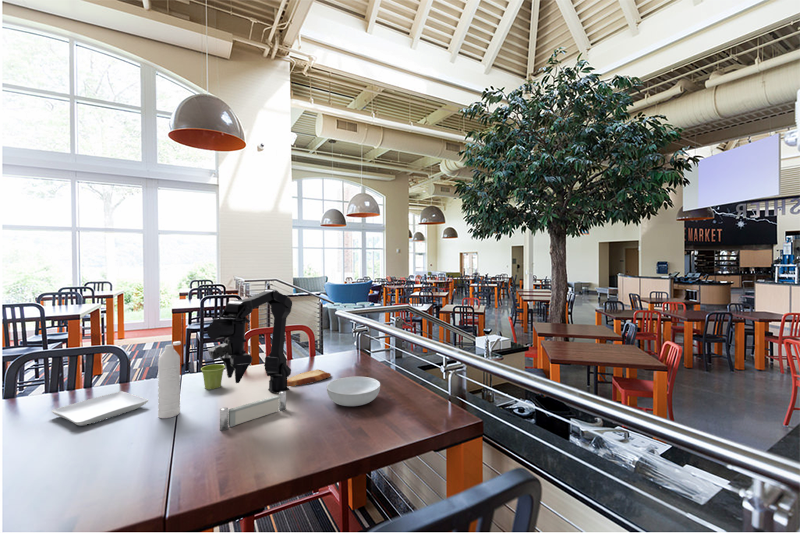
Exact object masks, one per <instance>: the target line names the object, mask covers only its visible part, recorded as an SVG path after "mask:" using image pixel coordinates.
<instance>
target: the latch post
mask: <svg viewBox="0 0 800 533" xmlns="http://www.w3.org/2000/svg"><path fill="white" fill-rule="evenodd" d="M228 409H229V408H228V407H226V406H225V407H222V408H219V431H226V430H228V429H229V425H228Z"/></svg>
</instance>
